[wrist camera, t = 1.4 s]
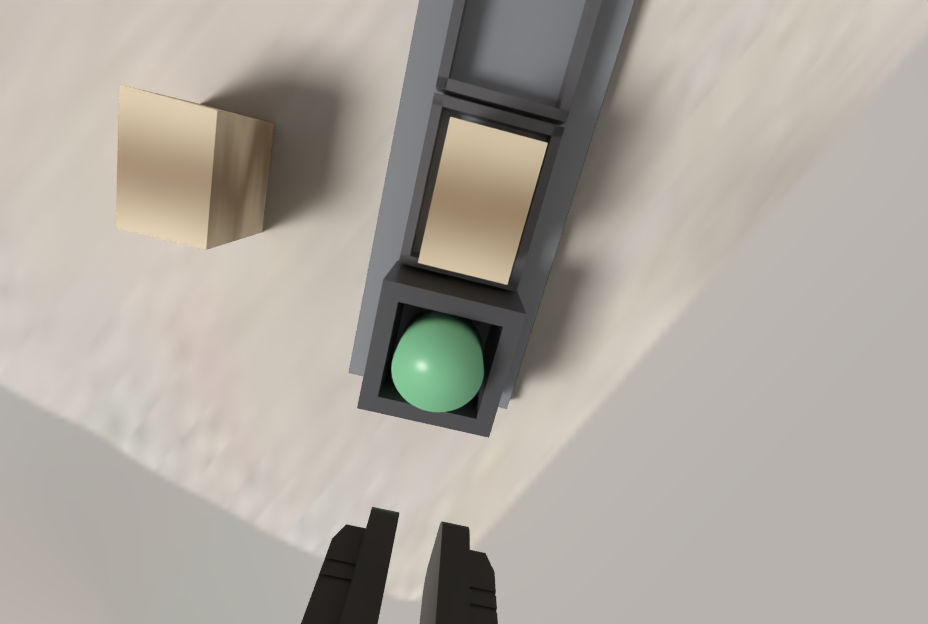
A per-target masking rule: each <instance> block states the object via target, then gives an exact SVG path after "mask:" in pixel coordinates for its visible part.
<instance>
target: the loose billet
mask: <svg viewBox="0 0 928 624" xmlns="http://www.w3.org/2000/svg"><path fill="white" fill-rule="evenodd" d="M274 127H275V123H271V122H267V121H263V120H260V119H256V118H252V117H248V116H244V115H240V114H237V113H233V112H229V111H225V110H221V109H217V108H214V107H210V106H206V105H202V104H198V103H194V102H190V101H186V100H181V99H177V98H173V97H169V96H165V95H160V94H156V93H152V92H148V91H144V90H140V89H135V88H131V87H127V86H123V85H119V115H118V162H117V209H116V228H118V229H122V230H126V231H130V232H134V233H139V234H143V235H147V236H151V237H155V238H159V239H164V240H168V241H172V242H176V243H180V244H184V245H189V246H193V247H197V248H201V249H205V250H207V249H210V248H213V247H216V246H220V245H223V244H226V243H229V242H232V241H236V240H239V239H242V238H245V237H249V236H252V235H255V234H258V233H261V232H262V230H263V222H264V213H265V204H266V196H267V187H268V179H269V170H270V161H271V153H272V144H273V136H274Z"/></svg>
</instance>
